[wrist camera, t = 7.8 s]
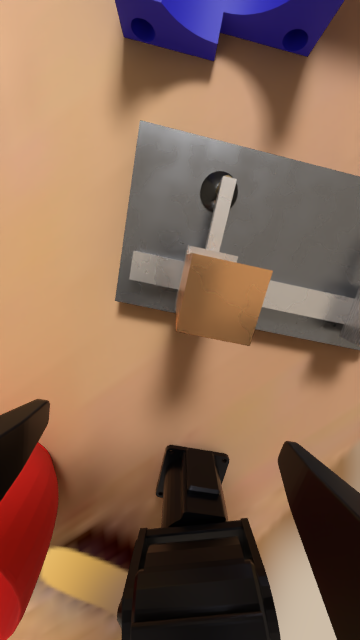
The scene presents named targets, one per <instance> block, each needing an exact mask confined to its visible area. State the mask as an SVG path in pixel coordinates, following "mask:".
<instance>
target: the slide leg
mask: <svg viewBox="0 0 360 640" xmlns="http://www.w3.org/2000/svg"><path fill="white" fill-rule="evenodd" d="M236 181H237V179H234V178H232V177H231V176H229V175H226V176H223V177H222V178H221V180H220V183H219V185H218V186H217V188H216V194H217V198H216V202H215V206H214V211H213V215H212V219H211V224H210V228H209V233H208V237H207V241H206V246H205V249H203V248H198V247H194V246H189V245H188V246H187V248H186V253H185V258H184V262H183V267H182V272H181V277H180V282H179V286H178V291H177V296H176V301H175V311H176V332H181V333H186V334H191V335H196V336H201V337H206V338H211V339H217V340H222V341H227V342H232V343H237V344H242V345H247V346H250V343H251V340H252V337H253V334H254V330H255V327H256V324H257V321H258V318H259V314H260V311H261V308H262V305H263V301H264V298H265V295H266V292H267V289H268V285H269V282H270V279H271V276H272V273H273V271H272V270H267V269H263V268H258V267H254V266H249V265H245V264H240V263H237V259H238V256H234V255H230V254H225V253H221V252H219V250H220V246H221V242H222V238H223V234H224V230H225V226H226V222H227V218H228V214H229V210H230V206H231V201H232V197H233V193H234V189H235V185H236Z"/></svg>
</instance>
